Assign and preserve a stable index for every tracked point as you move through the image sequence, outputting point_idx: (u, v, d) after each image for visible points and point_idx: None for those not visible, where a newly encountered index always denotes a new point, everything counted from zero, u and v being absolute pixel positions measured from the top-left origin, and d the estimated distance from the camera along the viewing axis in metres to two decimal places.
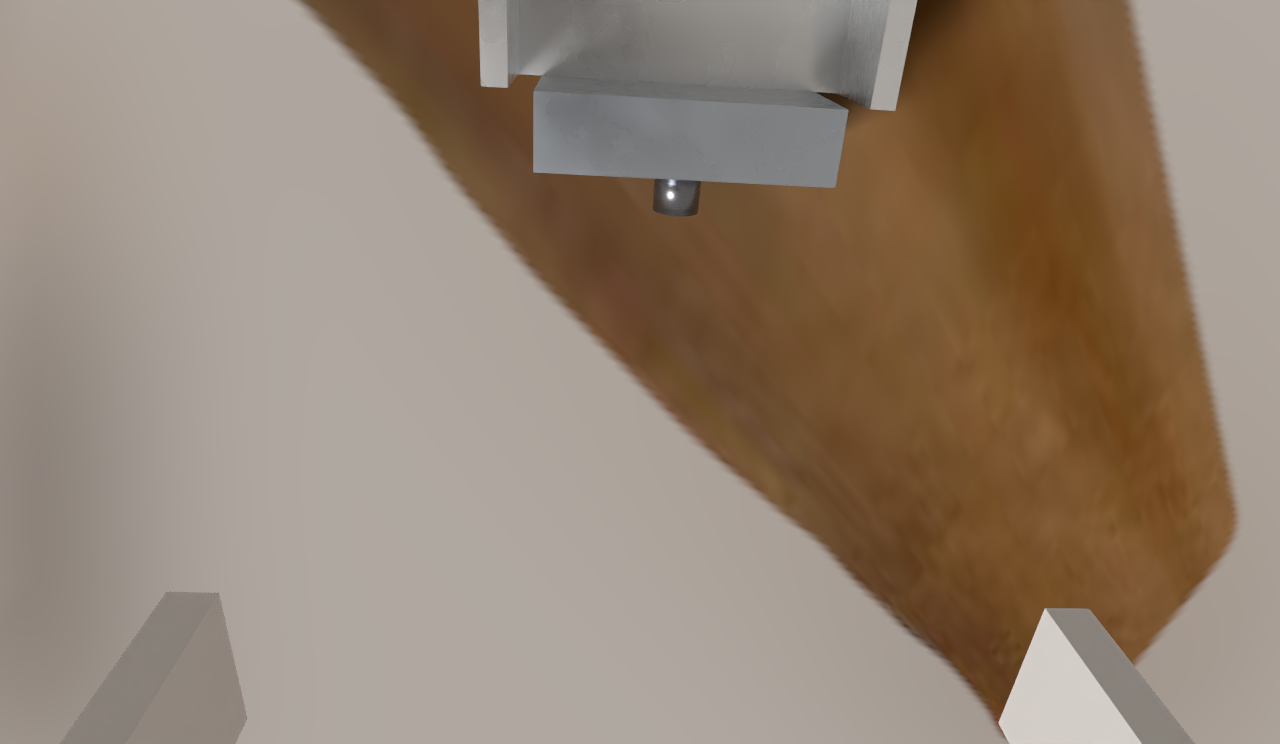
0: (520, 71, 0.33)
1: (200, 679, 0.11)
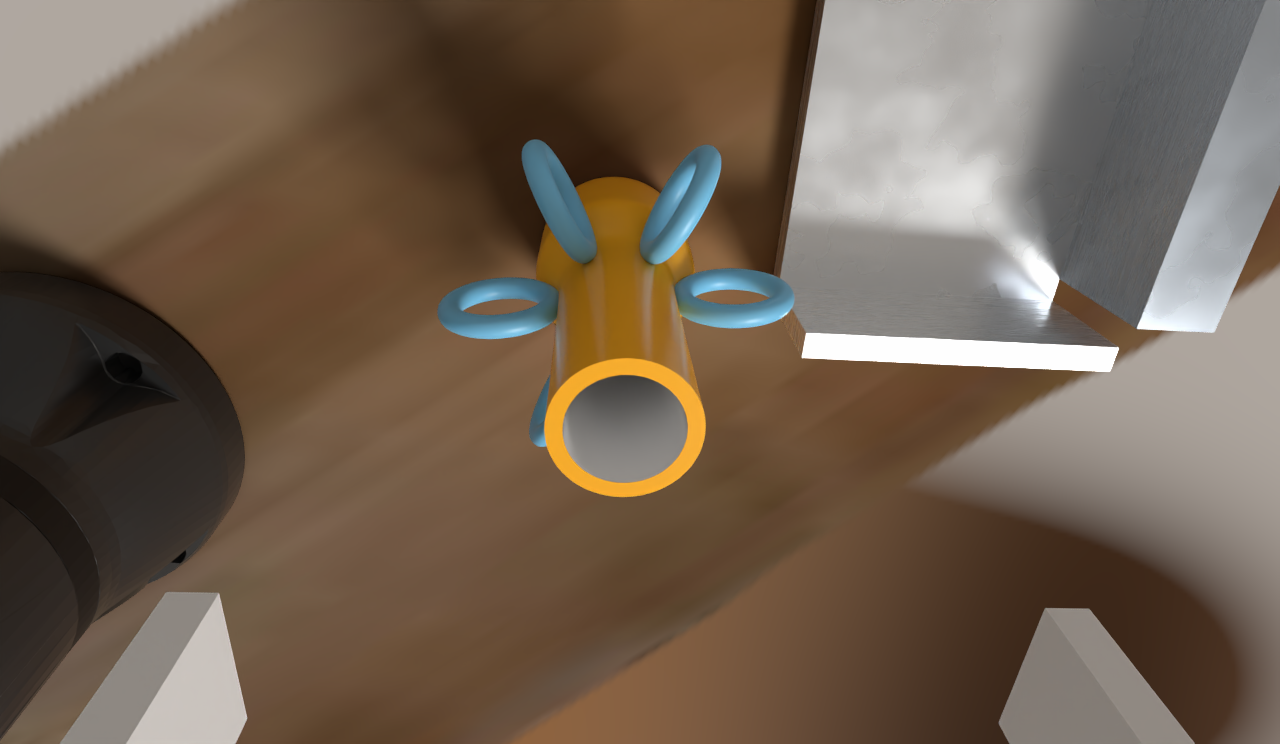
0: (1050, 299, 0.33)
1: (200, 679, 0.11)
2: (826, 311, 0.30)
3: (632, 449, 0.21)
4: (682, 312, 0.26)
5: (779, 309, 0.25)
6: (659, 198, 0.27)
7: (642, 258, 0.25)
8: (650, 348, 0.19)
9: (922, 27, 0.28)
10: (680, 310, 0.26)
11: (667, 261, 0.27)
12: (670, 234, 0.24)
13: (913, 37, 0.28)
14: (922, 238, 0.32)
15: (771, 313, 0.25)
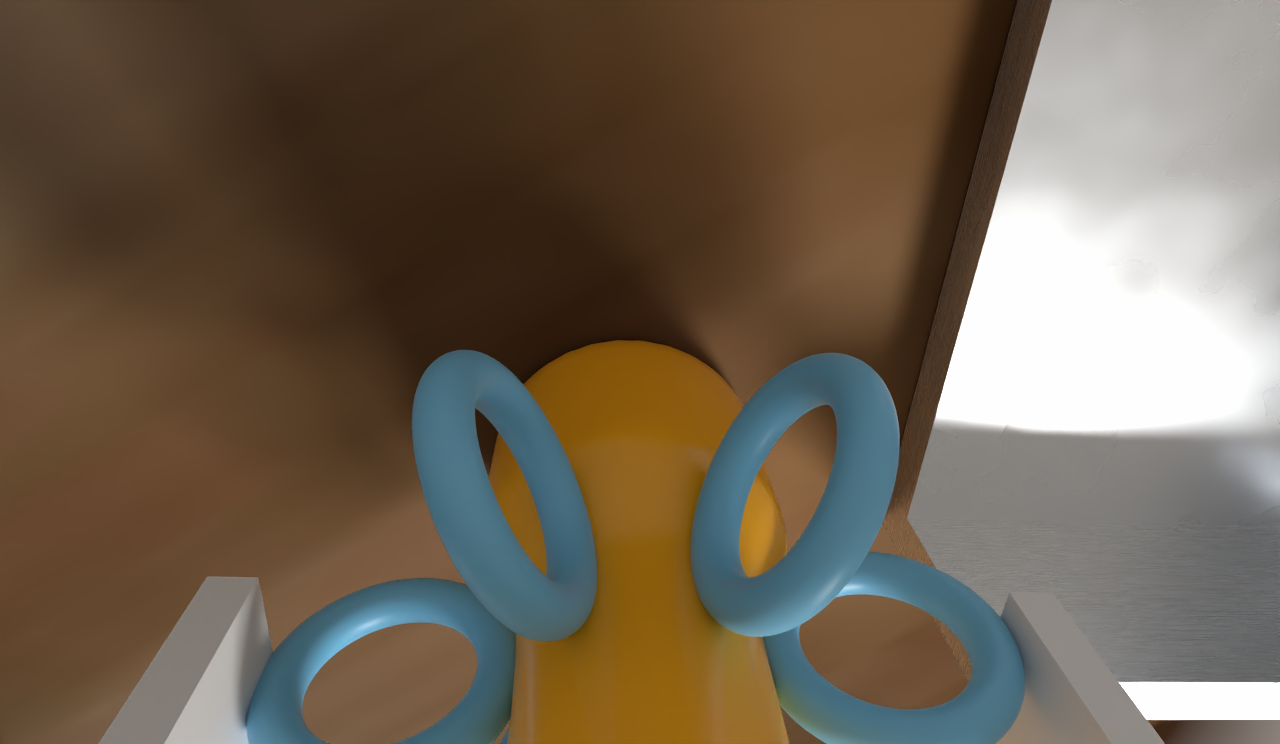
0: None
1: (242, 660, 0.11)
2: None
3: None
4: (786, 710, 0.12)
5: (1010, 720, 0.11)
6: (729, 441, 0.13)
7: (700, 607, 0.11)
8: None
9: (1230, 70, 0.14)
10: (781, 703, 0.12)
11: (744, 568, 0.13)
12: (781, 608, 0.10)
13: (1210, 90, 0.14)
14: (1167, 439, 0.18)
15: (994, 734, 0.11)
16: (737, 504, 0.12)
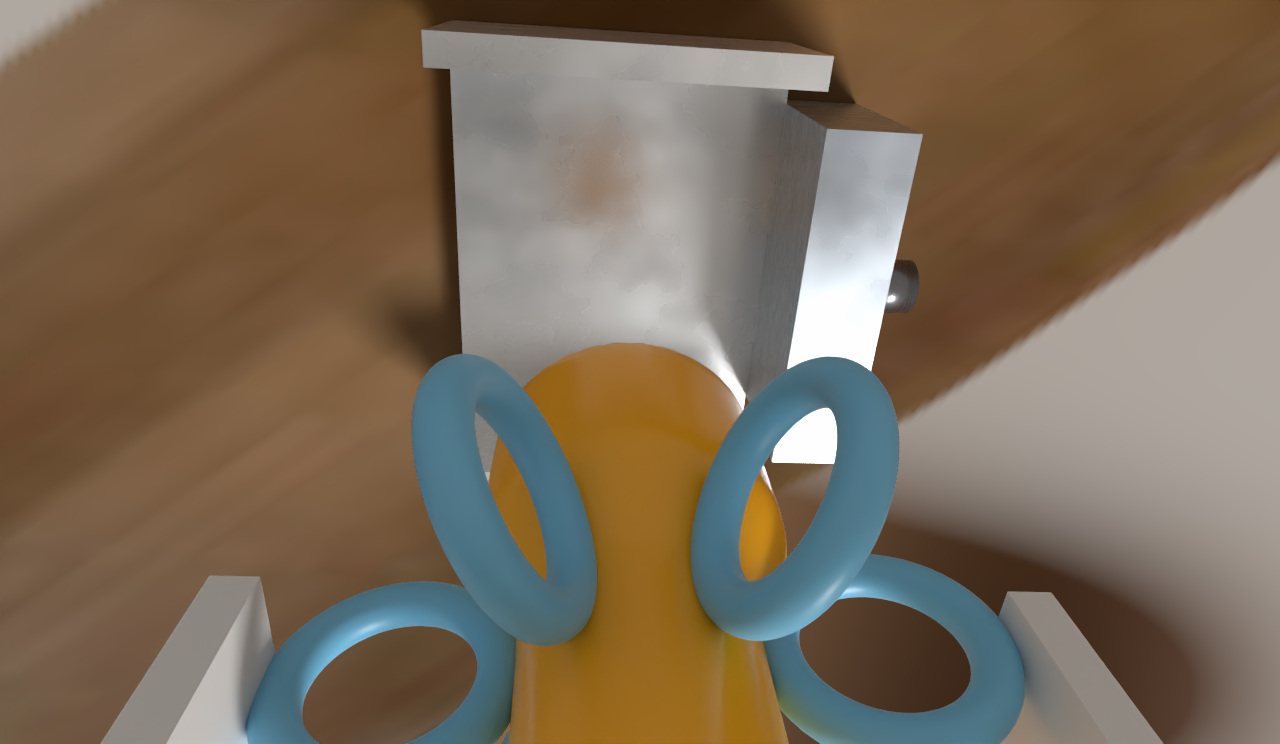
0: None
1: (244, 659, 0.11)
2: (490, 440, 0.31)
3: None
4: (786, 713, 0.12)
5: (1010, 723, 0.11)
6: (728, 445, 0.13)
7: (700, 611, 0.11)
8: None
9: (556, 169, 0.29)
10: (781, 707, 0.12)
11: (744, 571, 0.13)
12: (781, 612, 0.10)
13: (549, 178, 0.29)
14: None
15: (995, 737, 0.11)
16: (737, 507, 0.12)
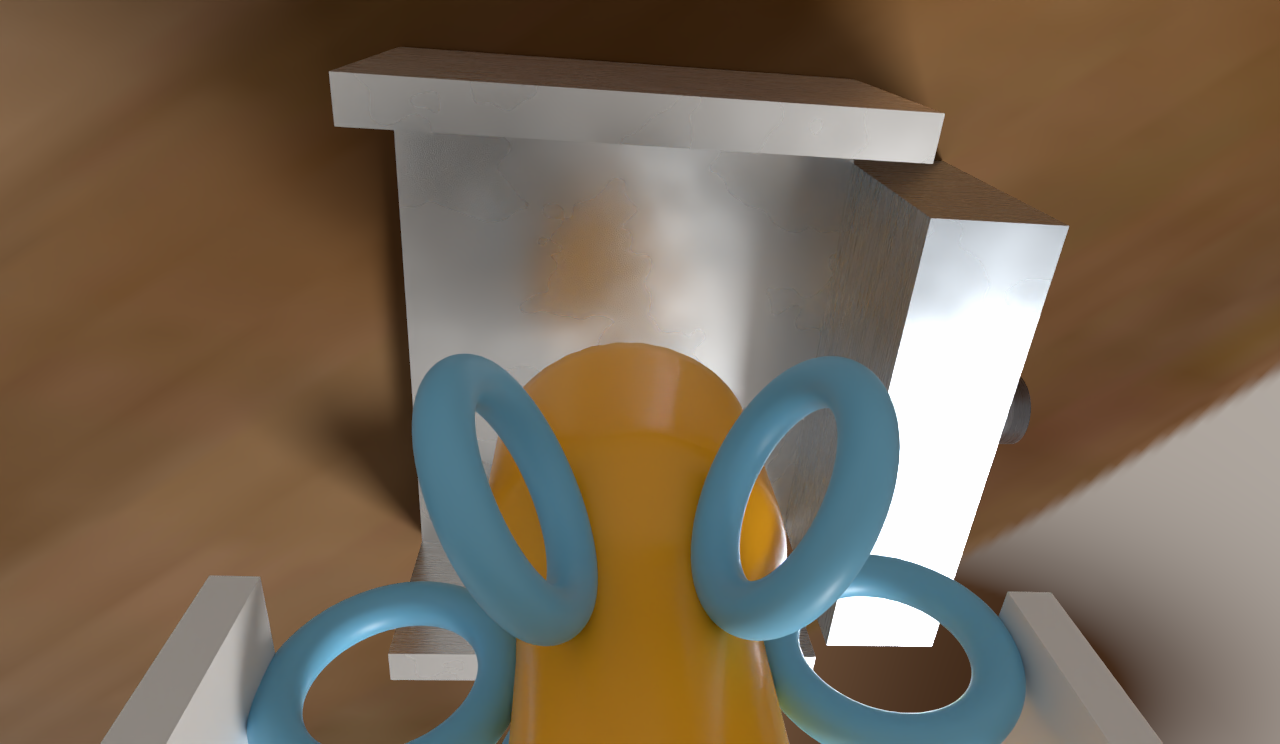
0: None
1: (244, 659, 0.11)
2: None
3: None
4: (787, 713, 0.12)
5: (1011, 723, 0.11)
6: (729, 444, 0.13)
7: (701, 611, 0.11)
8: None
9: (539, 248, 0.21)
10: (782, 707, 0.12)
11: (745, 571, 0.13)
12: (781, 612, 0.10)
13: (531, 260, 0.21)
14: None
15: (995, 737, 0.11)
16: (737, 507, 0.12)
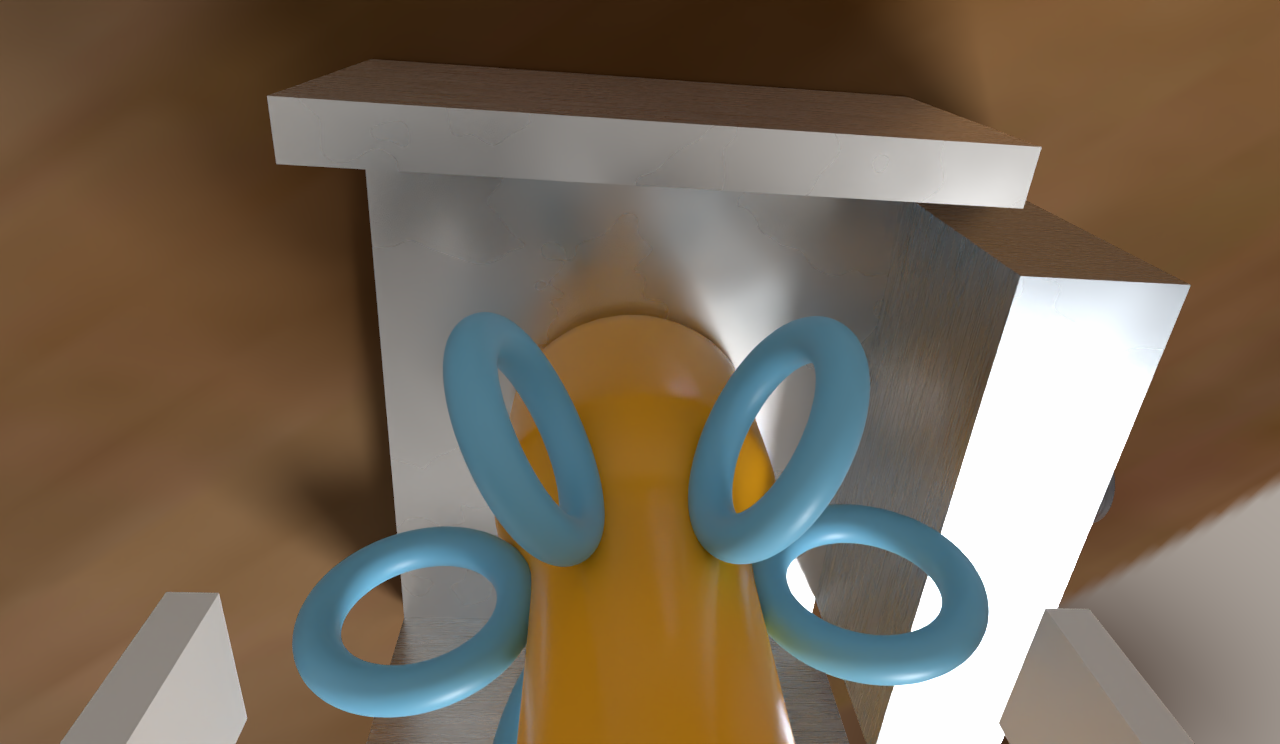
0: None
1: (200, 679, 0.11)
2: None
3: None
4: (773, 637, 0.13)
5: (973, 644, 0.13)
6: (723, 399, 0.14)
7: (696, 542, 0.13)
8: None
9: (537, 293, 0.18)
10: (769, 632, 0.13)
11: None
12: (765, 534, 0.11)
13: (527, 307, 0.18)
14: None
15: (959, 656, 0.12)
16: (730, 455, 0.14)
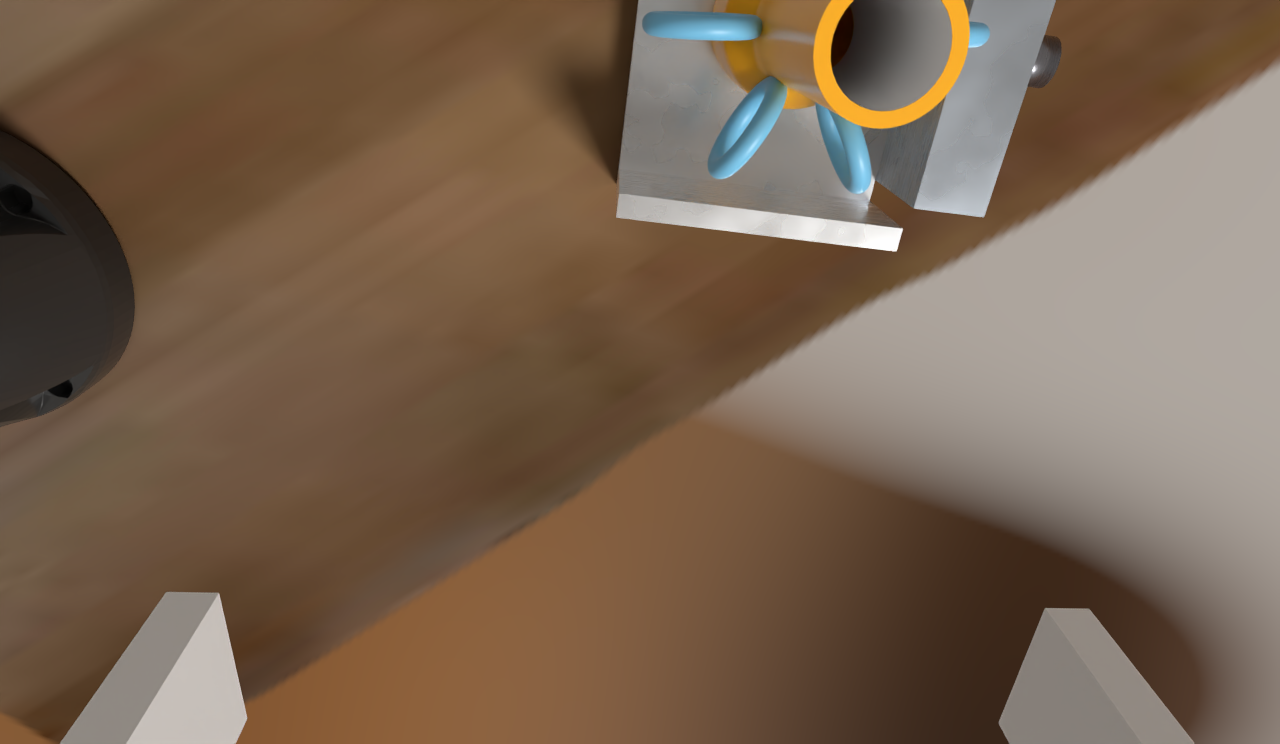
0: (867, 199, 0.37)
1: (200, 679, 0.11)
2: (649, 185, 0.34)
3: (871, 102, 0.22)
4: None
5: (982, 31, 0.26)
6: None
7: None
8: None
9: None
10: None
11: None
12: None
13: None
14: None
15: (975, 33, 0.26)
16: None
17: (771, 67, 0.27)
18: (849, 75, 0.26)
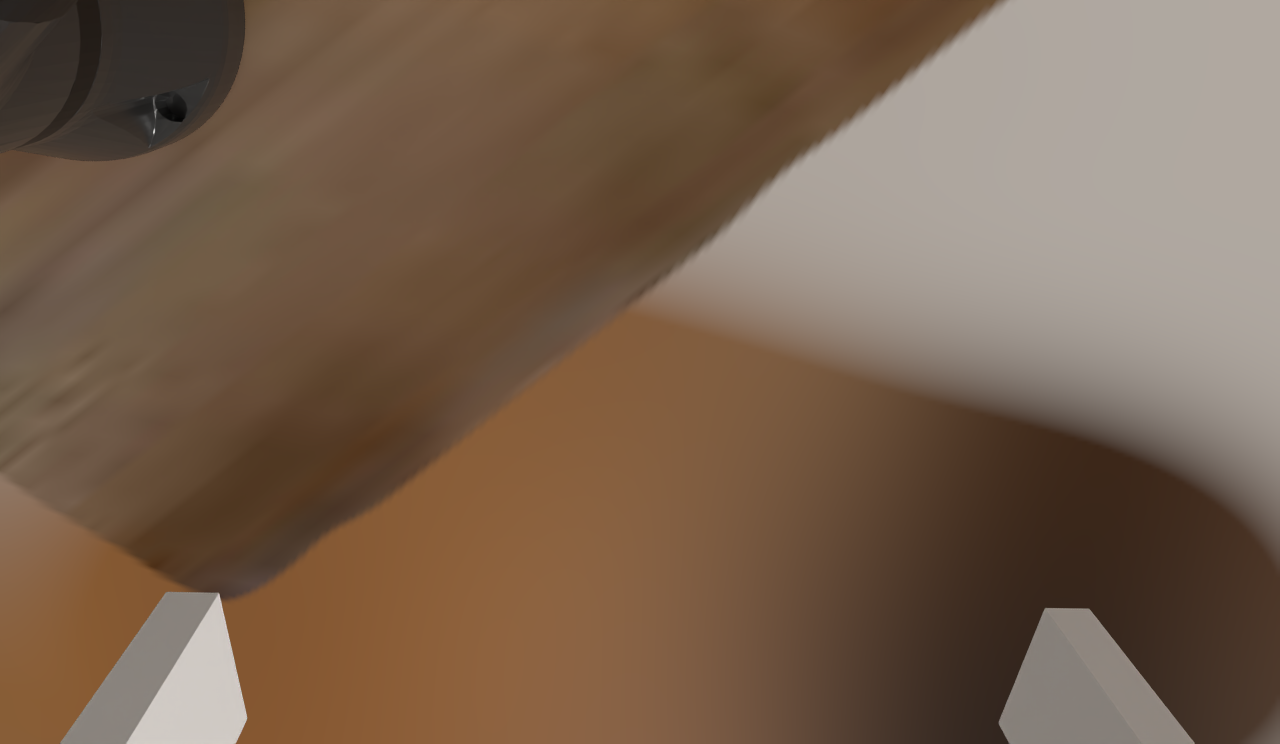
0: None
1: (200, 679, 0.11)
2: None
3: None
4: None
5: None
6: None
7: None
8: None
9: None
10: None
11: None
12: None
13: None
14: None
15: None
16: None
17: None
18: None
